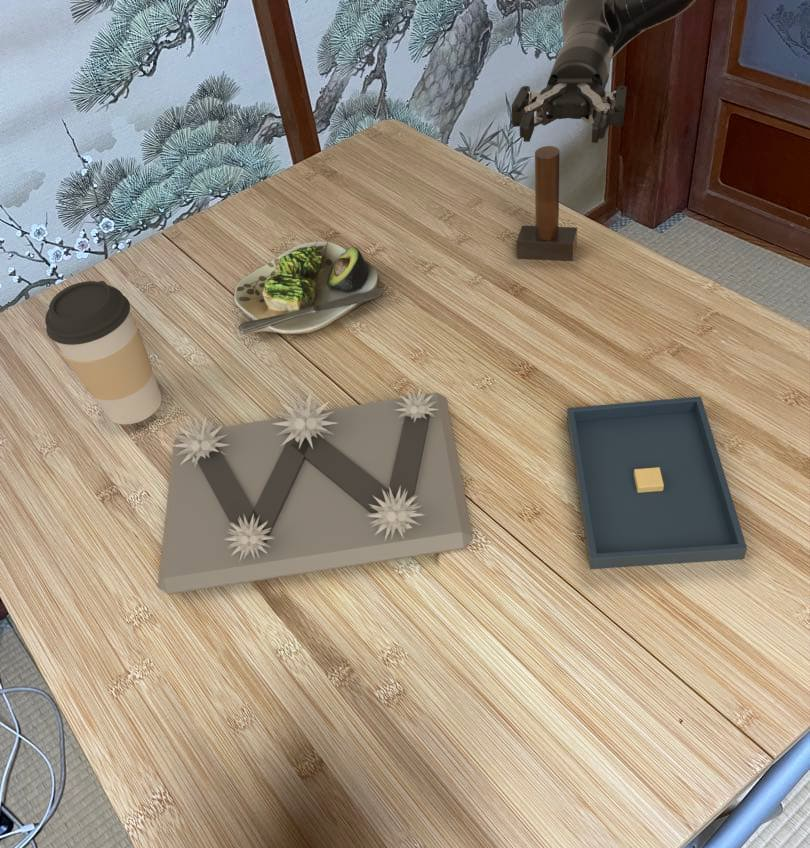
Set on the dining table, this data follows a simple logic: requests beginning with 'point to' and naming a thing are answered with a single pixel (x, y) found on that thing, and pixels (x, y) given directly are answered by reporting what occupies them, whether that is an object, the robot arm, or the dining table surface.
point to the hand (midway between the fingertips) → (560, 135)
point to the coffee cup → (105, 349)
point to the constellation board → (312, 493)
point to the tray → (661, 510)
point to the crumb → (648, 480)
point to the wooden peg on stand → (547, 215)
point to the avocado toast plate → (306, 289)
